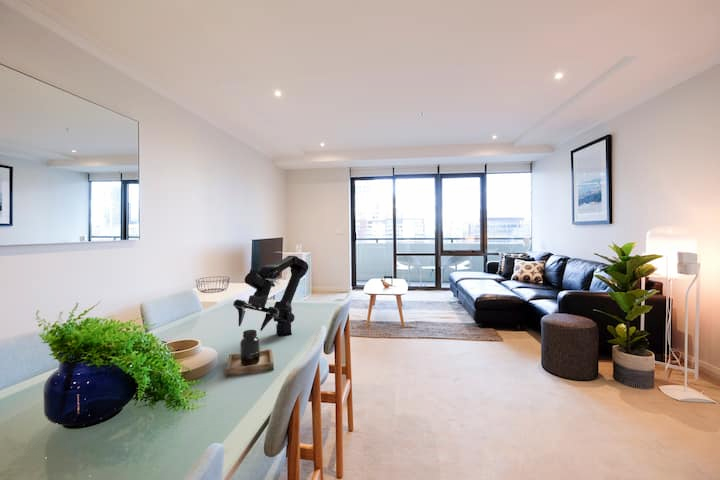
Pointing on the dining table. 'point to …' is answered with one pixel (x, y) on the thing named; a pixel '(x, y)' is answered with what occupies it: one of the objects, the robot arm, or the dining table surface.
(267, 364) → the oak tray
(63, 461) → the dining table surface
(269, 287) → the robot arm
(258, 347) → the supplement bottle
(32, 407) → the dining table surface
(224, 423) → the dining table surface
